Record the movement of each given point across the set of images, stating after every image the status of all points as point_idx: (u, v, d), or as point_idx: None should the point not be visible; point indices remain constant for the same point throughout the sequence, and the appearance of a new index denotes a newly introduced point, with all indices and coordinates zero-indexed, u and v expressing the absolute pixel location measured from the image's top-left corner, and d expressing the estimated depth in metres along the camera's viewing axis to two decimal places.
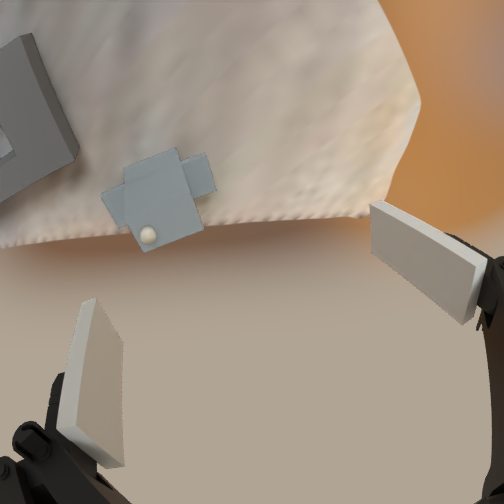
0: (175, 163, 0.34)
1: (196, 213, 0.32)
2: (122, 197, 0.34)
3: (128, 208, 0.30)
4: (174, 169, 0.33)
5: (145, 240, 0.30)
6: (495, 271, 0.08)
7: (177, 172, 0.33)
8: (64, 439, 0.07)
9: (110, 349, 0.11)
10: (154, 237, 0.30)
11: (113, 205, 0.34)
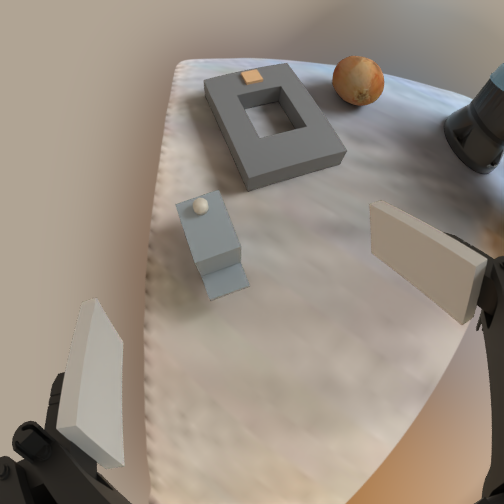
0: None
1: (216, 253, 0.32)
2: None
3: None
4: None
5: (197, 201, 0.33)
6: (495, 271, 0.08)
7: None
8: (64, 439, 0.07)
9: (110, 349, 0.11)
10: (199, 209, 0.32)
11: None
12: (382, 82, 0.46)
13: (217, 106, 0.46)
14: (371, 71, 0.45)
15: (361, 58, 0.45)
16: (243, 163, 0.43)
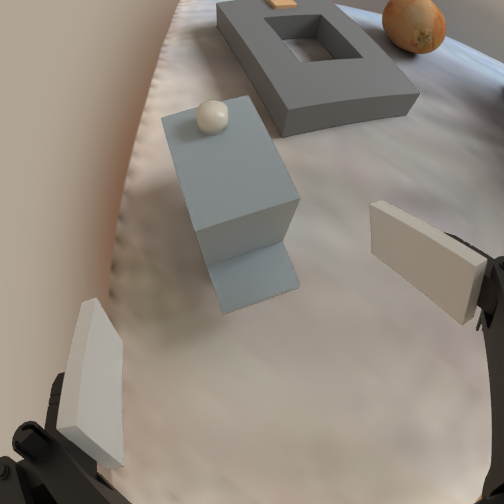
0: None
1: (245, 211, 0.14)
2: None
3: None
4: None
5: (206, 106, 0.14)
6: (495, 271, 0.08)
7: None
8: (64, 439, 0.07)
9: (110, 349, 0.11)
10: (210, 120, 0.14)
11: None
12: (445, 26, 0.28)
13: (236, 26, 0.28)
14: (433, 10, 0.27)
15: None
16: (278, 90, 0.25)
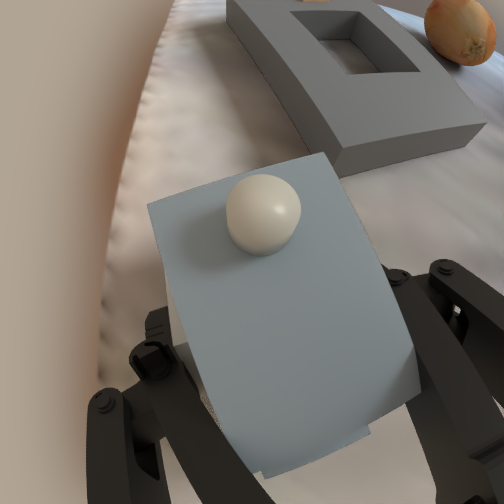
0: None
1: (338, 433, 0.06)
2: None
3: None
4: None
5: (249, 192, 0.07)
6: None
7: None
8: None
9: None
10: (262, 233, 0.06)
11: None
12: None
13: (255, 21, 0.21)
14: (485, 16, 0.19)
15: None
16: (325, 116, 0.18)
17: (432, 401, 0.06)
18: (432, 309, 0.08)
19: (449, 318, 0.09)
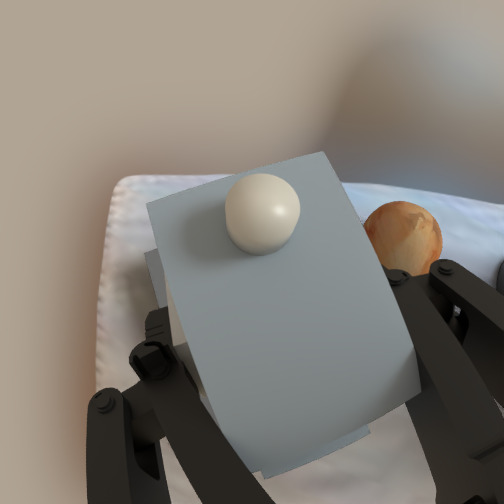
0: None
1: (337, 433, 0.06)
2: None
3: None
4: None
5: (248, 192, 0.07)
6: None
7: None
8: None
9: None
10: (261, 232, 0.06)
11: None
12: None
13: None
14: (428, 247, 0.28)
15: (416, 220, 0.28)
16: None
17: (432, 401, 0.06)
18: (432, 309, 0.08)
19: (449, 318, 0.09)
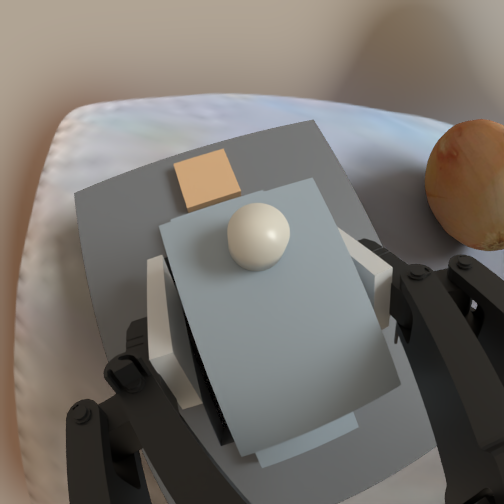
0: None
1: (322, 421, 0.08)
2: None
3: None
4: None
5: (246, 219, 0.08)
6: (404, 284, 0.09)
7: None
8: (151, 374, 0.09)
9: (176, 301, 0.13)
10: (257, 254, 0.08)
11: None
12: None
13: (97, 309, 0.15)
14: None
15: None
16: None
17: (448, 393, 0.06)
18: (452, 304, 0.08)
19: (466, 313, 0.09)
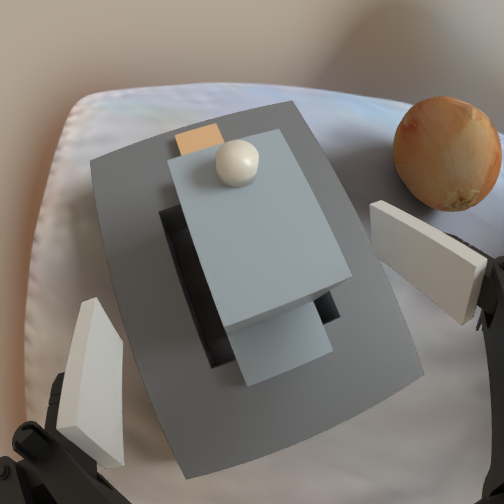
0: None
1: (287, 298, 0.11)
2: None
3: None
4: None
5: (229, 149, 0.11)
6: (495, 271, 0.08)
7: None
8: (64, 439, 0.07)
9: (110, 349, 0.11)
10: (236, 170, 0.11)
11: None
12: None
13: (108, 251, 0.18)
14: (490, 146, 0.17)
15: (470, 109, 0.17)
16: (171, 442, 0.15)
17: None
18: None
19: None
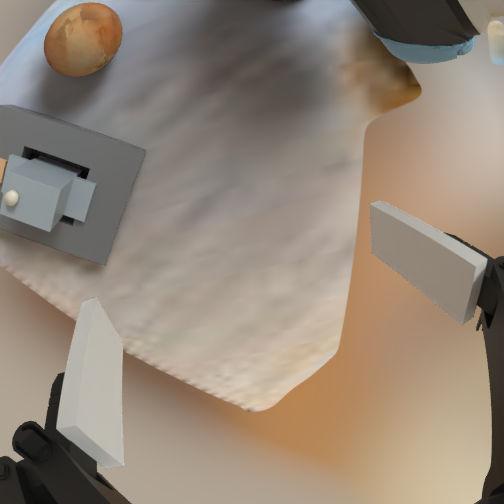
0: (71, 174, 0.33)
1: (53, 211, 0.28)
2: None
3: (16, 169, 0.26)
4: (67, 176, 0.32)
5: (7, 199, 0.25)
6: (495, 271, 0.08)
7: (66, 178, 0.31)
8: (64, 439, 0.07)
9: (110, 349, 0.11)
10: (14, 202, 0.25)
11: (11, 169, 0.29)
12: (112, 24, 0.24)
13: (14, 232, 0.33)
14: (89, 35, 0.23)
15: (64, 31, 0.21)
16: (89, 259, 0.39)
17: None
18: None
19: None
